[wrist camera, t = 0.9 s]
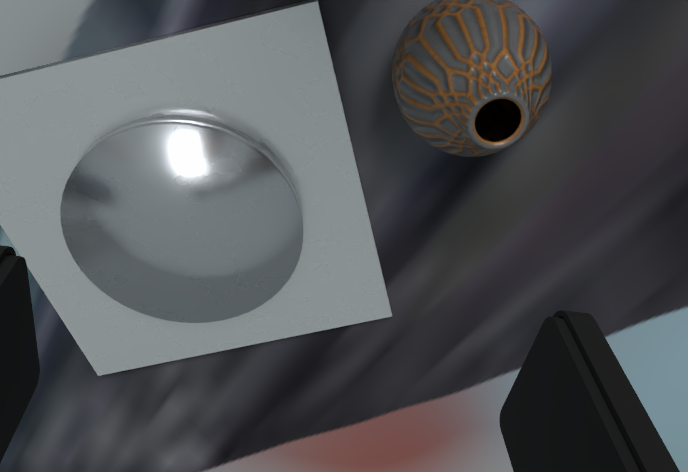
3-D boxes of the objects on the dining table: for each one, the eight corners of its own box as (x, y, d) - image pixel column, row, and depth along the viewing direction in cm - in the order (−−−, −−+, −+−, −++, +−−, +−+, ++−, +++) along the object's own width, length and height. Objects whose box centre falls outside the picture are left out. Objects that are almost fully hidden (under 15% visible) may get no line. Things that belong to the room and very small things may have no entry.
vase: (450, -56, 28) (500, -11, 21) (551, 35, 31) (627, 103, 24) (356, 64, 31) (372, 140, 24) (455, 138, 34) (497, 227, 26)
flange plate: (317, -3, 29) (318, 7, 28) (391, 310, 40) (394, 329, 39) (-75, 94, 31) (-95, 108, 29) (100, 369, 42) (93, 389, 40)
